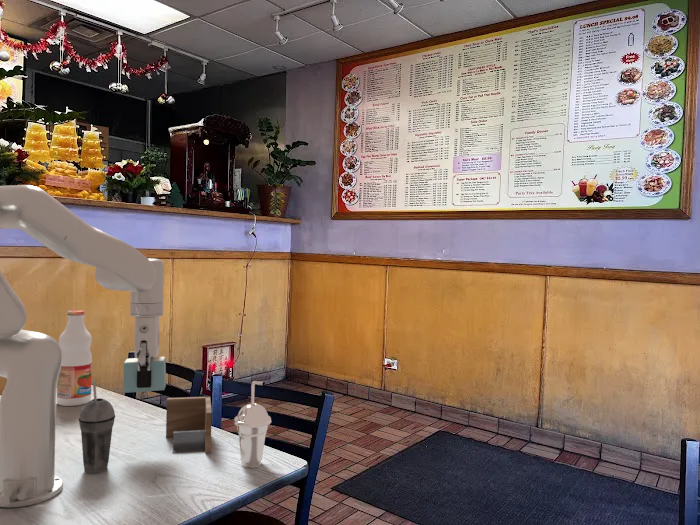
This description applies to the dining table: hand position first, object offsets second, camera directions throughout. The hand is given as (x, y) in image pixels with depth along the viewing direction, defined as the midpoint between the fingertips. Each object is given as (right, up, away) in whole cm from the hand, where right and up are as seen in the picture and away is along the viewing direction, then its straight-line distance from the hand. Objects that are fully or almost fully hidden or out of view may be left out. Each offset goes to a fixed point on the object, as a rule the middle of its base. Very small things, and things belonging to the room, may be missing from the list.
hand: (145, 383), depth 133 cm
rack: (+10, -16, +3) cm, 19 cm away
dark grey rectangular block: (+11, -16, -1) cm, 19 cm away
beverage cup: (-5, -16, -14) cm, 22 cm away
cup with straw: (+27, -17, -8) cm, 33 cm away
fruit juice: (-35, -14, +35) cm, 51 cm away
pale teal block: (0, -1, 0) cm, 1 cm away
